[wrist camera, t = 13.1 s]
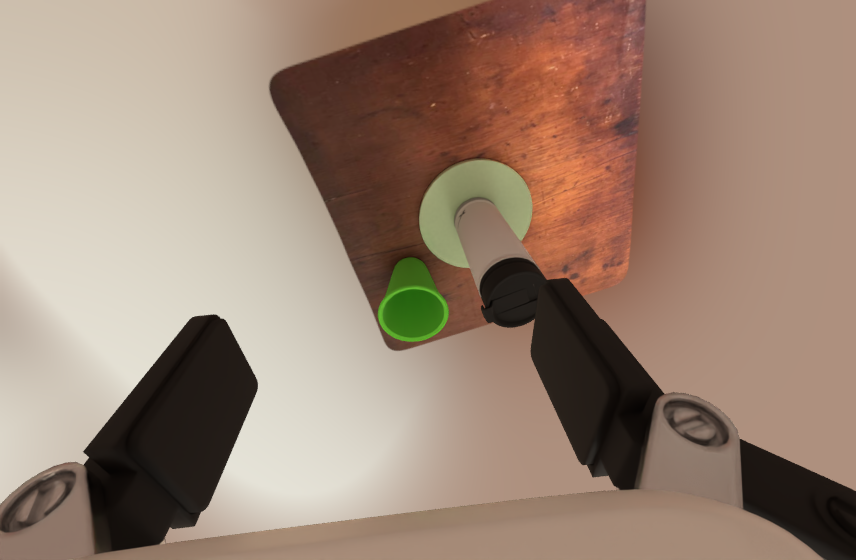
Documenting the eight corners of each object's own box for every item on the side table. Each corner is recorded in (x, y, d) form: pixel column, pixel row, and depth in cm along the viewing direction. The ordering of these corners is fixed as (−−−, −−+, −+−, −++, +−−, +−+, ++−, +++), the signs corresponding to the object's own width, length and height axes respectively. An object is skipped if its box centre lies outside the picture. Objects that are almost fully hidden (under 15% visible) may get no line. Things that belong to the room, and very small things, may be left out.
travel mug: (445, 207, 45) (474, 291, 29) (491, 189, 44) (549, 265, 28) (459, 245, 49) (492, 340, 32) (502, 229, 48) (560, 318, 31)
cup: (448, 254, 50) (459, 296, 41) (427, 300, 55) (433, 348, 46) (390, 237, 48) (389, 278, 39) (374, 287, 53) (369, 334, 43)
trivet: (413, 164, 43) (414, 165, 42) (536, 152, 43) (538, 154, 42) (423, 269, 52) (423, 273, 51) (524, 259, 52) (527, 262, 51)
